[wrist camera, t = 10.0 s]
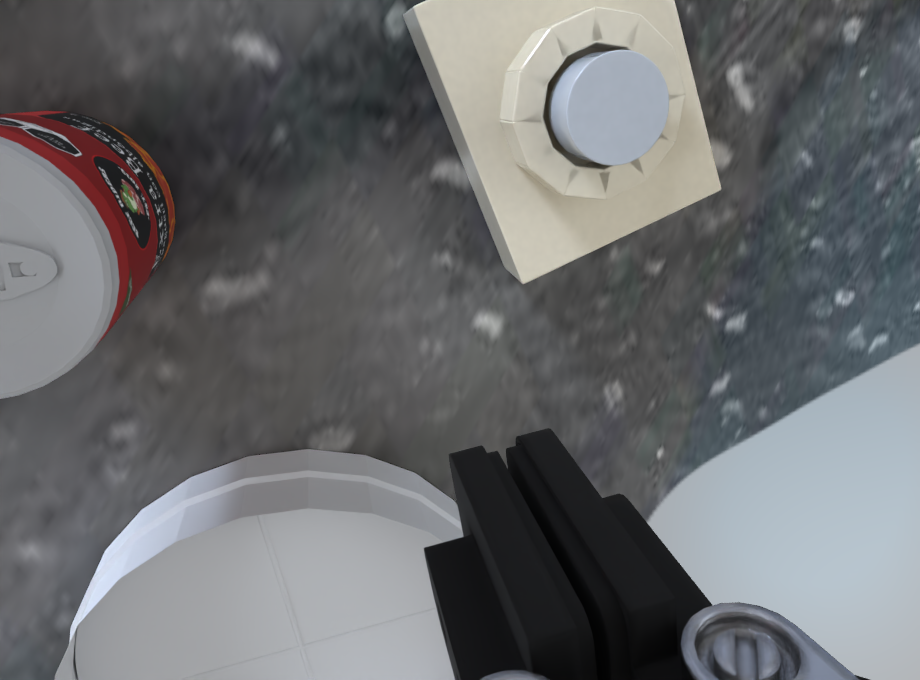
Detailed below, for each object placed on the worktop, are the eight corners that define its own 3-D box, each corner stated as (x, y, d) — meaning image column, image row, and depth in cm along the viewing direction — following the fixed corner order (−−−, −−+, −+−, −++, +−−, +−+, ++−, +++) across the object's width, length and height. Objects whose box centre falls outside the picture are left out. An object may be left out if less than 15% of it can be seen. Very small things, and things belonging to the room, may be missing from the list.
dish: (8, 511, 32) (-41, 582, 27) (465, 403, 35) (489, 450, 31) (158, 822, 40) (139, 917, 36) (517, 712, 43) (542, 786, 39)
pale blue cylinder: (533, 78, 26) (551, 77, 24) (627, 34, 26) (652, 30, 24) (567, 177, 27) (586, 183, 26) (656, 135, 28) (681, 138, 26)
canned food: (209, 259, 30) (162, 346, 20) (30, 323, 29) (-113, 446, 19) (125, 81, 27) (19, 77, 17) (-77, 147, 26) (-313, 184, 16)
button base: (401, 14, 28) (421, 0, 24) (616, -83, 29) (676, -116, 24) (504, 268, 33) (537, 297, 28) (688, 181, 34) (749, 196, 29)
